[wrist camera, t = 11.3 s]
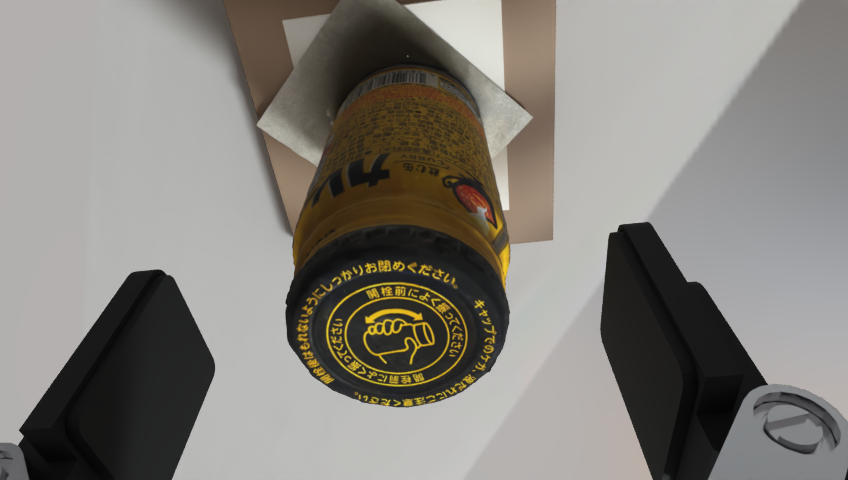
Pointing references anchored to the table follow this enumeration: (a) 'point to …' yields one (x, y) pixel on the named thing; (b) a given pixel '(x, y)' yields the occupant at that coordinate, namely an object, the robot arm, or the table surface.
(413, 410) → the table surface
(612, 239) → the robot arm
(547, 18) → the picture frame
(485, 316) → the condiment
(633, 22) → the table surface
